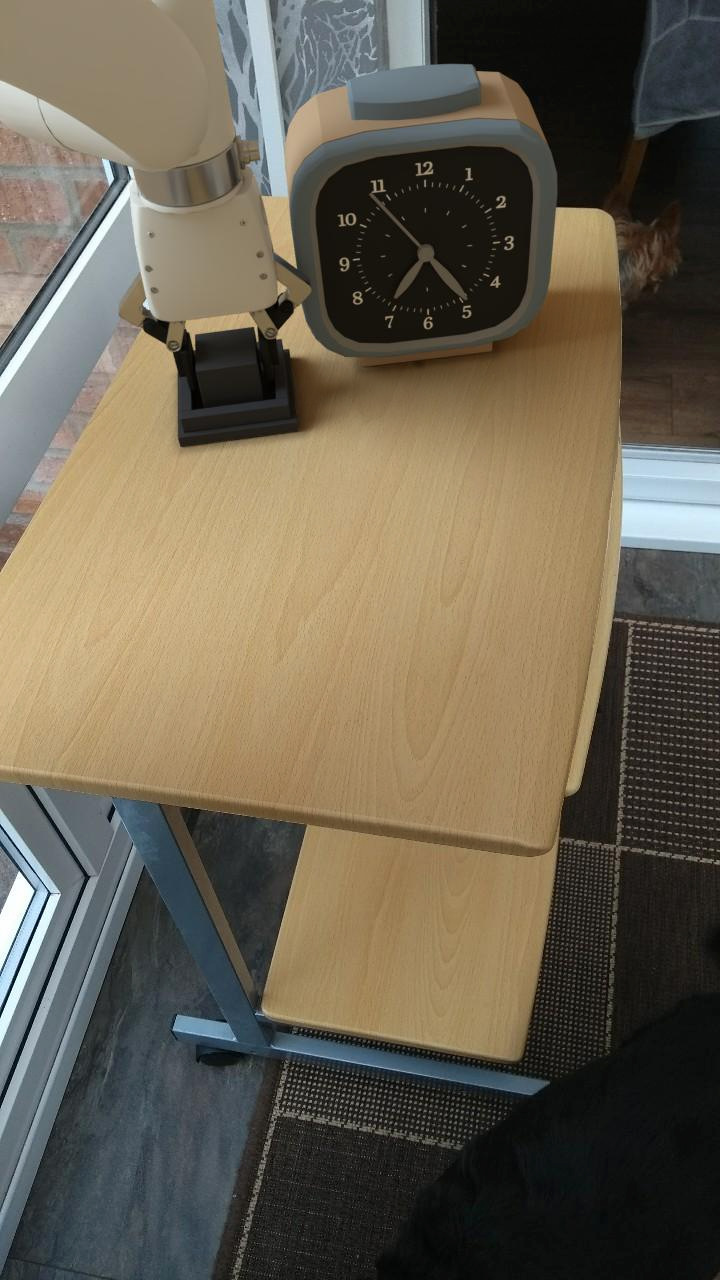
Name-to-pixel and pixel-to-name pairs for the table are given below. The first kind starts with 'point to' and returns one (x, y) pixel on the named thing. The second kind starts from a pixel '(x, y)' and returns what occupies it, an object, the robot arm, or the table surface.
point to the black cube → (228, 367)
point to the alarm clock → (420, 212)
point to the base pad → (240, 410)
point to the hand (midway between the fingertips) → (231, 373)
